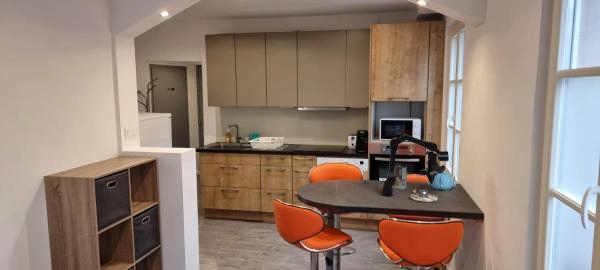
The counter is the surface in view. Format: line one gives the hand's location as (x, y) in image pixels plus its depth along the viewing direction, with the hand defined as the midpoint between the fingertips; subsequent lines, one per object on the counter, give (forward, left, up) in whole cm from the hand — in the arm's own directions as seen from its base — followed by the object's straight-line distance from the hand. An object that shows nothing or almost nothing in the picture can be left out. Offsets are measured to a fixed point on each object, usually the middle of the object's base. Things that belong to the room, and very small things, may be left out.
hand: (431, 183), depth 269 cm
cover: (-8, 0, -8) cm, 11 cm away
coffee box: (+4, +31, -10) cm, 33 cm away
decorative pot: (+27, +11, -10) cm, 31 cm away
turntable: (-8, 0, -10) cm, 12 cm away
